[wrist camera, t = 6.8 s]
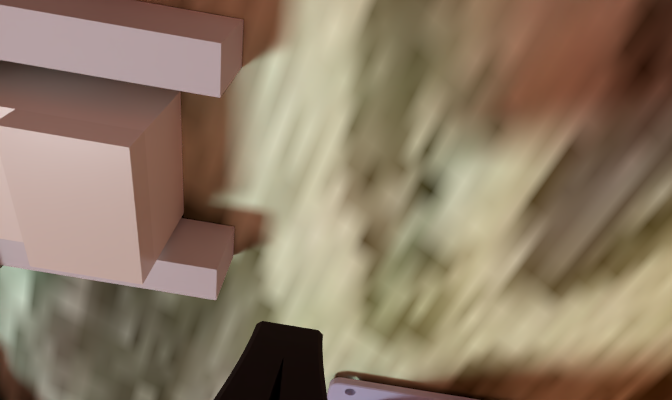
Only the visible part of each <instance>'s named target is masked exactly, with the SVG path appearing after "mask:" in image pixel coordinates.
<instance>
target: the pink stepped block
mask: <svg viewBox="0 0 672 400" xmlns="http://www.w3.org/2000/svg"><path fill="white" fill-rule="evenodd" d="M183 214H184V195H183V159H182V124H181V91H176V90H170V89H165V88H159V87H153V86H147V85H142V84H136V83H130V82H124V81H118V80H113V79H107V78H101V77H95V76H90V75H84V74H78V73H72V72H66V71H61V70H55V69H49V68H43V67H38V66H32V65H26V64H20V63H14V62H9V61H3V60H0V239H6V240H12V241H18V242H23V243H24V246H25V250H26V254H27V257H28V261H29V265H30V266H31V267H37V268H43V269H50V270H56V271H62V272H68V273H74V274H80V275H86V276H93V277H99V278H105V279H111V280H117V281H123V282H129V283H136V284H142V285H143V283H144V281H145V280H146V278H147V276H148V274H149V273H150V271H151V269H152V267H153V266H154V264H155V262H156V261H157V259H158V257H159V255H160V254H161V252H162V250H163V248H164V247H165V245H166V243H167V241H168V240H169V238H170V236H171V234H172V233H173V231H174V229H175V228H176V226H177V224H178V222H179V221H180V219H181V217H182V215H183Z"/></svg>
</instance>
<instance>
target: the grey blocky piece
mask: <svg viewBox="0 0 672 400" xmlns="http://www.w3.org/2000/svg"><path fill="white" fill-rule="evenodd" d="M243 25H244V20H243V19H238V18H232V17H226V16H221V15H215V14H209V13H204V12H198V11H192V10H187V9H181V8H175V7H170V6H164V5H158V4H153V3H147V2H141V1H136V0H0V60H4V61H10V62H16V63H21V64H27V65H33V66H39V67H44V68H50V69H56V70H62V71H68V72H73V73H79V74H85V75H91V76H97V77H102V78H108V79H114V80H120V81H126V82H131V83H137V84H143V85H149V86H154V87H160V88H166V89H172V90H178V91H183V92H189V93H195V94H201V95H207V96H212V97H218V98H220V97H221V96H222V95H223V93H224V92H225V90H226V89H227V88H228V86H229V85H230V83H231V82H232V81H233V79H234V78H235V76H236V75H237V74H238V72H239V71H240V69H241V68H242V47H243ZM234 229H235V227H233V226H227V225H221V224H215V223H209V222H203V221H197V220H191V219H185V218H181V219H180V221H179V222H178V224H177V226H176V228H175V229H174V231H173V233H172V234H171V236H170V238H169V240H168V241H167V243H166V245H165V247H164V248H163V250H162V252H161V254H160V255H159V257H158V259H157V261H156V262H155V264H154V266H153V267H152V269H151V271H150V273H149V274H148V276H147V278H146V280H145V281H144V283H143V285H142V284H136V283H129V282H123V281H117V280H111V279H105V278H99V277H93V276H86V275H80V274H74V273H68V272H62V271H56V270H50V269H43V268H37V267H31V266H30V265H29V261H28V257H27V254H26V250H25V246H24V243H23V242H18V241H12V240H6V239H0V268H1V267H2V266H3V265H5V266H11V267H17V268H23V269H29V270H35V271H41V272H47V273H53V274H59V275H66V276H72V277H78V278H84V279H90V280H96V281H102V282H108V283H114V284H121V285H127V286H133V287H139V288H145V289H151V290H157V291H163V292H169V293H175V294H182V295H188V296H194V297H200V298H206V299H212V300H216V299H217V297H218V294H219V292H220V289H221V286H222V284H223V281H224V279H225V276H226V273H227V271H228V268H229V266H230V263H231V260H232V258H233V251H234Z"/></svg>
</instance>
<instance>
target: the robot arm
mask: <svg viewBox="0 0 672 400" xmlns="http://www.w3.org/2000/svg"><path fill="white" fill-rule="evenodd" d="M322 340H323V335H322V334H321V332H320V331H319V330H314V329H308V328H302V327H296V326H289V325H283V324H277V323H271V322H265V321H262V322H260V323H258V324H257V325H256V327H255V329H254V332H253V334H252V336H251V338H250V340H249V342H248V344H247V346H246V348H245V350H244V352H243V354H242V355H241V357H240V359H239V361H238V362H237V364H236V366H235V367H234V369H233V371H232V372H231V374H230V376H229V377H228V379H227V380H226V382H225V383H224V385H223V386H222V388H221V389H220V391H219V392H218V394H217V396H216V397H215V399H214V400H479V399H472V398H466V397H460V396H454V395H448V394H441V393H435V392H429V391H423V390H417V389H410V388H404V387H398V386H392V385H386V384H379V383H373V382H367V381H361V380H355V379H348V378H342V377H337V378H334V379H332V380H331V382H330V385H329V389H328V393H326V385H325V377H324V368H323V352H322Z"/></svg>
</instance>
